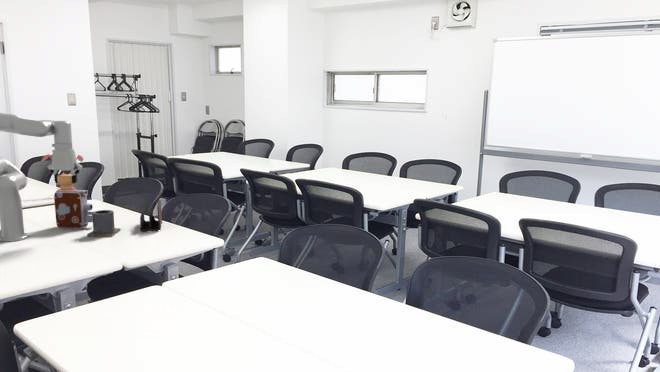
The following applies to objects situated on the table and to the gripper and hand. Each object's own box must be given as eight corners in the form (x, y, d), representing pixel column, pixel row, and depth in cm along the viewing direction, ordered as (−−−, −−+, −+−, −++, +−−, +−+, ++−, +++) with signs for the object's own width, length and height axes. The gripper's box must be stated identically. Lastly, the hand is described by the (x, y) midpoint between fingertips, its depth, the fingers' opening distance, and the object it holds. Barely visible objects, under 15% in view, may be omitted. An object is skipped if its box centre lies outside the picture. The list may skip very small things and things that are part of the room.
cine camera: (91, 229, 265) (88, 192, 262) (54, 229, 265) (51, 191, 262) (99, 225, 274) (97, 189, 271) (64, 224, 274) (61, 188, 271)
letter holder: (162, 222, 283) (161, 197, 281) (160, 231, 264) (159, 204, 262) (143, 223, 280) (142, 198, 278) (140, 232, 261) (138, 205, 259)
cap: (55, 190, 243) (54, 176, 242) (62, 188, 251) (61, 174, 249) (70, 191, 244) (69, 176, 242) (77, 188, 251) (76, 174, 250)
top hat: (87, 236, 252) (85, 214, 250) (97, 230, 263) (95, 209, 261) (111, 236, 252) (110, 214, 250) (120, 230, 264) (119, 209, 262)
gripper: (41, 147, 239) (43, 184, 242) (78, 147, 240) (80, 184, 243) (49, 145, 247) (51, 181, 250) (85, 146, 248) (87, 181, 251)
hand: (66, 182), depth 246 cm, fingers closed on cap, 7 cm apart
